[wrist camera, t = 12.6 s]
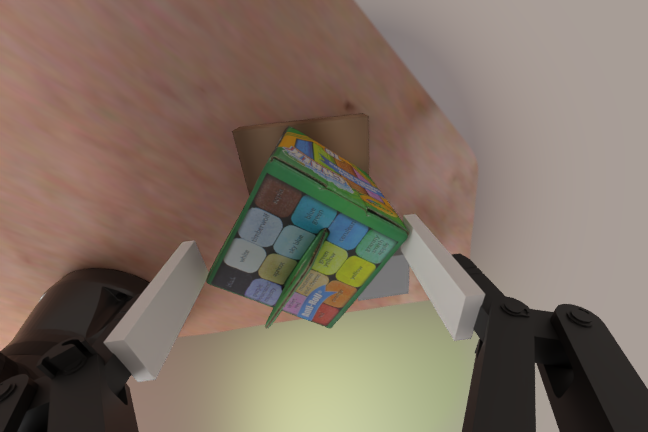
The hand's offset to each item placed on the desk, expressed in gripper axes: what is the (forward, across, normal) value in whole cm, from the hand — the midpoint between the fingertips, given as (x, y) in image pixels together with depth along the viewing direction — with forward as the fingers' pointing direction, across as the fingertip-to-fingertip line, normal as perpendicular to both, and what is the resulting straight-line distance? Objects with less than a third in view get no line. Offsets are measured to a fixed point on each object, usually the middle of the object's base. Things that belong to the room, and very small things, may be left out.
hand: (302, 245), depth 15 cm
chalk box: (+10, 0, 0) cm, 10 cm away
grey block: (+12, +8, -11) cm, 18 cm away
